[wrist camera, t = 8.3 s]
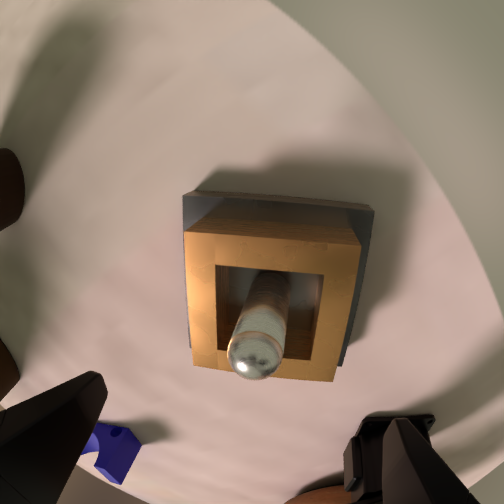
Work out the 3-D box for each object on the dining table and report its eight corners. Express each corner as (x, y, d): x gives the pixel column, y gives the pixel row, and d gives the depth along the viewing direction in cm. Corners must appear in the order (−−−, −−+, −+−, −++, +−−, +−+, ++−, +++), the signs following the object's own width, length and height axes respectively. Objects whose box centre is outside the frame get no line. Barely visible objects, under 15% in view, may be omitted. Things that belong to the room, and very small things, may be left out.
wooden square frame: (352, 228, 13) (361, 245, 11) (330, 351, 16) (332, 381, 14) (203, 216, 14) (183, 231, 12) (207, 337, 17) (193, 365, 15)
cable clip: (79, 435, 29) (58, 465, 24) (60, 412, 28) (36, 442, 22) (148, 451, 26) (128, 492, 21) (129, 426, 25) (104, 469, 20)
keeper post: (367, 204, 14) (419, 258, 7) (340, 351, 17) (348, 450, 11) (193, 190, 16) (112, 229, 9) (197, 333, 19) (149, 420, 12)
